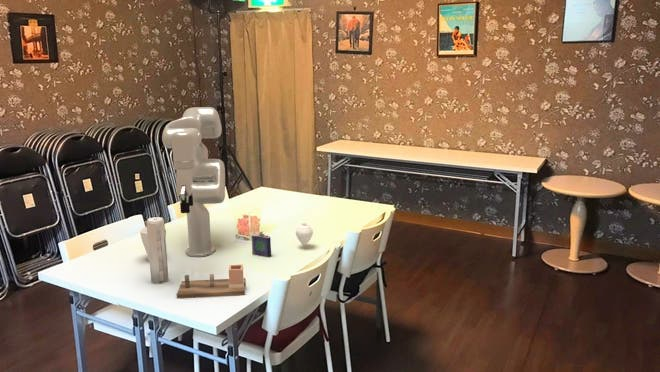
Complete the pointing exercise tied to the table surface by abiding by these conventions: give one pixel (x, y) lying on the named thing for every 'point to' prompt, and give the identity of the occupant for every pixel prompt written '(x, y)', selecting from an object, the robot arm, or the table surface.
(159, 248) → the beige tall cylinder
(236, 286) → the sleeve
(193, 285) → the pin board
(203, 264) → the table surface
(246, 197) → the table surface
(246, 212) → the table surface
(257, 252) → the flask
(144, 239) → the cup
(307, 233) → the spinning top
